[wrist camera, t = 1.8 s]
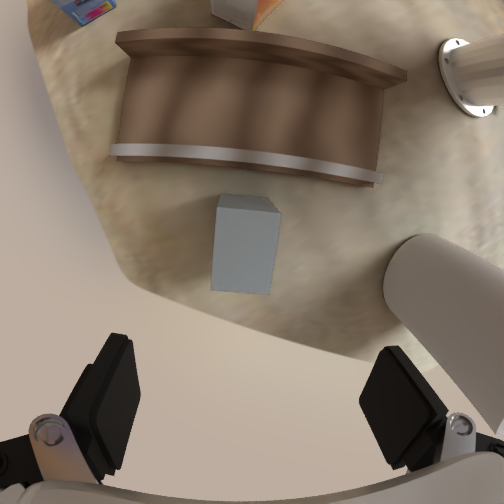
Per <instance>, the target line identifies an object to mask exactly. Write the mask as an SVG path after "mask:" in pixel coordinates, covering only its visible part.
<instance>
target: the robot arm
mask: <svg viewBox="0 0 504 504" xmlns="http://www.w3.org/2000/svg"><path fill="white" fill-rule="evenodd" d="M439 66H440V71H441V74H442V78H443V80H444V83H445V85H446V87H447V89H448V91H449V93H450V95H451V96H452V98H453V99H454V101H455V102H456V103H457V104H458V106H459V107H460V108H461V109H462V110H463V111H465V112H466V113H468V114H469V115H471V116H474V117H485V116H487V115H489V114H490V113H491V111H492V110H493V107H494V106H504V34H500V35H496V36H493V37H489V38H486V39H482V40H479V41H476V42H473V43H470V44H469V43H468V42H466V41H464V40H461V39H459V38H452V39H449V40H447V41H445V42H444V43H443V44H442V45H441V48H440V51H439ZM140 394H141V393H140V386H139V381H138V376H137V369H136V362H135V355H134V348H133V342H132V340H129V339H128V337H127V335H123V334H117V333H111V334H110V336H109V337H108V339H107V341H106V342H105V344H104V346H103V348H102V349H101V351H100V353H99V355H98V356H97V358H96V360H95V362H94V363H93V364H88V365H87V366H86V368H85V369H84V371H83V373H82V374H81V376H80V378H79V380H78V382H77V383H76V385H75V387H74V389H73V390H72V392H71V394H70V396H69V398H68V400H67V402H66V403H65V405H64V407H63V409H62V411H61V413H60V415H59V416H58V415H55V414H43V415H40V416H38V417H37V418H35V419H34V420H33V421H32V423H31V424H30V427H29V434H27V435H24V436H20V437H17V438H13V439H10V440H6V441H3V442H0V504H504V441H502V440H500V439H496V438H493V437H490V436H487V435H484V434H480V433H477V432H476V426H475V423H474V421H473V420H472V419H471V418H470V417H468V416H467V415H465V414H463V413H453V414H451V415H450V416H449V417H448V418H447V417H446V414H447V412H448V411H449V410H448V409H447V407H446V406H445V405H444V403H443V402H442V401H441V400H440V398H439V397H438V395H437V394H436V393H435V391H434V390H433V389H432V387H431V386H430V385H429V383H428V382H427V381H426V379H425V378H424V377H423V376H422V374H421V373H420V372H419V370H418V369H417V368H416V367H415V365H414V364H413V363H412V361H411V360H410V359H409V358H408V356H407V355H406V354H405V353H404V351H403V350H402V349H401V348H400V347H399V346H386V347H384V348H383V350H381V351H380V352H379V355H378V357H377V359H376V362H375V364H374V367H373V369H372V371H371V373H370V376H369V378H368V380H367V382H366V385H365V387H364V389H363V391H362V393H361V395H360V398H359V404H360V407H361V409H362V411H363V413H364V415H365V417H366V419H367V421H368V423H369V425H370V427H371V430H372V432H373V434H374V436H375V438H376V440H377V442H378V445H379V447H380V449H381V451H382V453H383V455H384V458H385V459H386V461H387V463H388V464H389V465H391V467H392V469H393V470H396V469H398V468H402V467H404V466H405V465H406V466H407V467H408V469H407V473H406V474H405V475H402V476H399V477H396V478H393V479H390V480H386V481H383V482H379V483H376V484H372V485H368V486H364V487H360V488H356V489H352V490H347V491H342V492H337V493H331V494H325V495H319V496H312V497H305V498H296V499H286V500H274V501H251V502H250V501H248V502H231V501H205V500H193V499H184V498H175V497H166V496H159V495H153V494H147V493H142V492H136V491H131V490H126V489H120V488H116V487H111V486H106V485H104V484H103V483H102V481H101V480H103V479H104V476H105V474H108V475H112V476H114V474H115V470H116V469H117V470H120V469H121V466H122V462H123V458H124V454H125V451H126V447H127V443H128V439H129V436H130V432H131V429H132V425H133V421H134V418H135V415H136V411H137V408H138V405H139V401H140Z"/></svg>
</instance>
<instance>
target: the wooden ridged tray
mask: <svg viewBox="0 0 504 504" xmlns="http://www.w3.org/2000/svg"><path fill="white" fill-rule="evenodd" d="M115 43H116V44H117V45H118V46H119V47H120V48H121V49H122V50H123V51H124V52H126V53H127V54H128V55H129V56H130V57H131V61H130V66H129V71H128V76H127V82H126V88H125V94H124V100H123V107H122V115H121V123H120V131H119V141H118V144H111V148H110V156H117V161H145V162H171V163H189V164H204V165H217V166H228V167H239V168H248V169H257V170H266V171H274V172H282V173H289V174H296V175H303V176H310V177H316V178H323V179H329V180H335V181H340V182H346V183H351V184H357V185H362V186H367V187H372V188H373V186H374V183H378V184H383V178H384V173H380V172H376V166H377V158H378V150H379V141H380V131H381V120H382V108H383V91H384V89H387V88H389V87H392V86H395V85H398V84H400V83H403V82H406V81H407V71H405V70H403V69H400V68H398V67H395V66H393V65H390V64H388V63H385V62H382V61H380V60H377V59H374V58H371V57H368V56H365V55H362V54H359V53H356V52H352V51H349V50H346V49H342V48H339V47H335V46H331V45H327V44H323V43H319V42H315V41H310V40H306V39H301V38H296V37H291V36H285V35H279V34H273V33H266V32H258V31H249V30H239V29H226V28H205V27H175V28H154V29H141V30H131V31H123V32H117V36H116V40H115Z"/></svg>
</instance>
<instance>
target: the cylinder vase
mask: <svg viewBox="0 0 504 504" xmlns="http://www.w3.org/2000/svg"><path fill="white" fill-rule="evenodd" d="M383 293H384V298H385V302H386V304H387V306H388V307H389V309H390V310H391V311H392V312H393V313H394V314H395V315H396V317H397V318H398V319H399V320H400V321H401V322H402V323H403V324H404V325H405V326H406V327H407V328H408V330H409V331H410V332H411V333H412V334H413V335H414V336H415V337H416V338H417V339H418V341H419V342H420V343H421V344H422V345H423V346H424V347H425V348H426V350H427V351H428V352H429V353H430V354H431V355H432V356H433V358H434V359H435V360H436V361H437V362H438V363H439V365H440V366H441V367H442V368H443V369H444V370H445V372H446V373H447V374H448V375H449V376H450V377H451V379H452V380H453V381H454V382H455V383H456V385H457V386H458V387H459V388H460V390H461V391H462V392H463V393H464V394H465V396H466V397H467V398H468V399H469V401H470V402H471V403H472V404H473V406H474V407H475V408H476V410H477V411H478V412H479V413H480V415H481V416H482V417H483V418H484V420H485V421H486V423H487V424H488V425H489V426H490V428H491V429H492V430H493V432H494V433H495V435H497V437H500V436H503V435H504V269H502V268H500V267H498V266H497V265H495V264H493V263H491V262H489V261H487V260H486V259H484V258H482V257H480V256H478V255H476V254H474V253H472V252H470V251H468V250H466V249H464V248H462V247H460V246H458V245H456V244H454V243H452V242H450V241H448V240H446V239H444V238H442V237H440V236H437V235H435V234H420V235H417V236H415V237H413V238H411V239H409V240H408V241H406V242H405V243H404V244H403V245H402V246H401V247H400V248H399V249H398V250H397V251H396V253H395V254H394V256H393V257H392V259H391V261H390V262H389V265H388V267H387V270H386V273H385V276H384V282H383Z"/></svg>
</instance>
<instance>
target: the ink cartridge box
mask: <svg viewBox="0 0 504 504" xmlns="http://www.w3.org/2000/svg"><path fill="white" fill-rule="evenodd" d="M50 1H51V2H52V3H54V4H55V5H56V6H57V7H58V8H60V9H61V10H62V11H63V12H65V13H66V14H67V15H68V16H69V17H71V18H72V19H73V20H74V21H75V22H77V23H78V24H79V25H80V26H84V25H85V24H87V23H88V22H90V21H92V20H93V19H95V18H97V17H98V16H100V15H102V14H104V13H106V12H107V11H109V10H111V9H113V8H115V7H116V4H115V1H114V0H50Z"/></svg>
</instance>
